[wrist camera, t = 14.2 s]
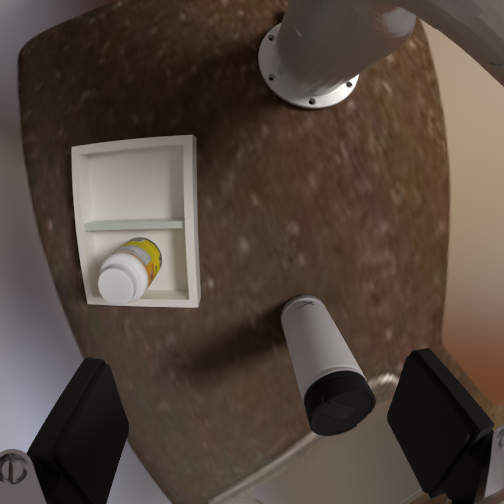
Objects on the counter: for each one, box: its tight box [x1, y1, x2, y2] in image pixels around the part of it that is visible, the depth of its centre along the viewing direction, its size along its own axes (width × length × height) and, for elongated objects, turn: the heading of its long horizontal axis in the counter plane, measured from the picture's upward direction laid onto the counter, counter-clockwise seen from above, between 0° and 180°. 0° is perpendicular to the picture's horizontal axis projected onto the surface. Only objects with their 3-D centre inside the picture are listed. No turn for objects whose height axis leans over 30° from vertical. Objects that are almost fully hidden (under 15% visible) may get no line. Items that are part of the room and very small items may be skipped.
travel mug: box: [281, 295, 376, 436], centre depth 32 cm, size 6×7×20 cm
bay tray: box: [72, 135, 201, 307], centre depth 35 cm, size 20×15×4 cm
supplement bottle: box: [98, 237, 162, 306], centre depth 33 cm, size 6×6×10 cm
